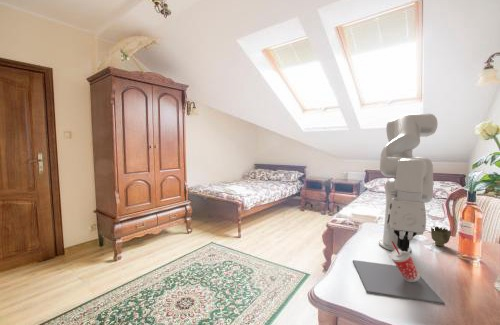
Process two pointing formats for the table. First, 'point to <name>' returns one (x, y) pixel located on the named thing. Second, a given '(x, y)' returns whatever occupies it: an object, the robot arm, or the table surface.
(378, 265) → the mat
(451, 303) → the table surface
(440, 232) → the cup
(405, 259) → the beverage cup
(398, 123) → the robot arm
